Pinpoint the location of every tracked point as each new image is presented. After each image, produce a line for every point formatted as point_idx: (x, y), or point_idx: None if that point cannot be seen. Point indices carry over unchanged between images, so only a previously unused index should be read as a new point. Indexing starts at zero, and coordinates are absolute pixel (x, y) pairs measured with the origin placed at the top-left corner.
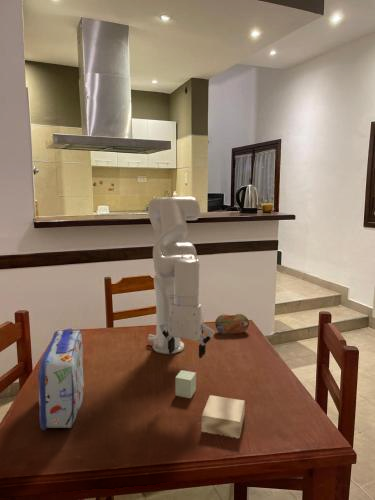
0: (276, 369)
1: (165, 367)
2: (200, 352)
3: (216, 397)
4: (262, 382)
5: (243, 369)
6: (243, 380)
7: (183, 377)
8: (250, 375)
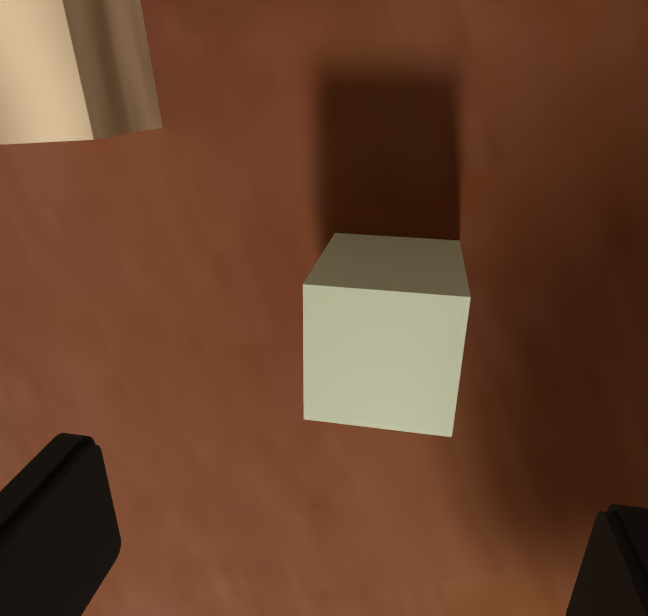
0: None
1: None
2: (1, 499)
3: (32, 121)
4: None
5: (149, 589)
6: None
7: (389, 316)
8: None
